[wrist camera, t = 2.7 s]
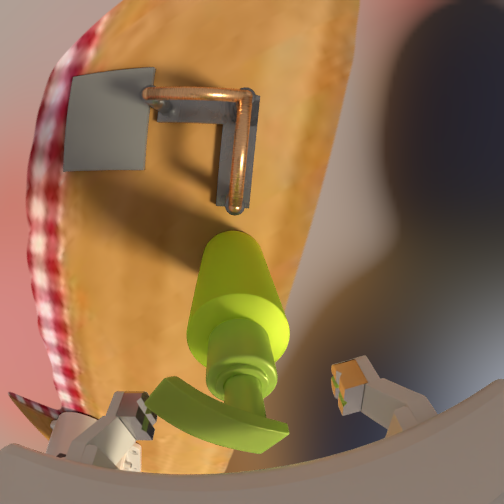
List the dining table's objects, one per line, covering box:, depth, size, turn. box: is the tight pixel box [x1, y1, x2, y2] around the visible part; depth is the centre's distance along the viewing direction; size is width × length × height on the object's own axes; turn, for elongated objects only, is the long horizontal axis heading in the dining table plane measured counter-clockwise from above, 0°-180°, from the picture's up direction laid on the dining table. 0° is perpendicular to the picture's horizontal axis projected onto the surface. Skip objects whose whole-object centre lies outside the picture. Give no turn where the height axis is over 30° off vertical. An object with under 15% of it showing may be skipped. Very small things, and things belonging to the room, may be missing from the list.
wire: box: [140, 85, 260, 215], centre depth 21 cm, size 10×9×6 cm
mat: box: [63, 67, 156, 172], centre depth 22 cm, size 10×9×1 cm
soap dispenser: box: [144, 231, 290, 454], centre depth 18 cm, size 6×7×20 cm
